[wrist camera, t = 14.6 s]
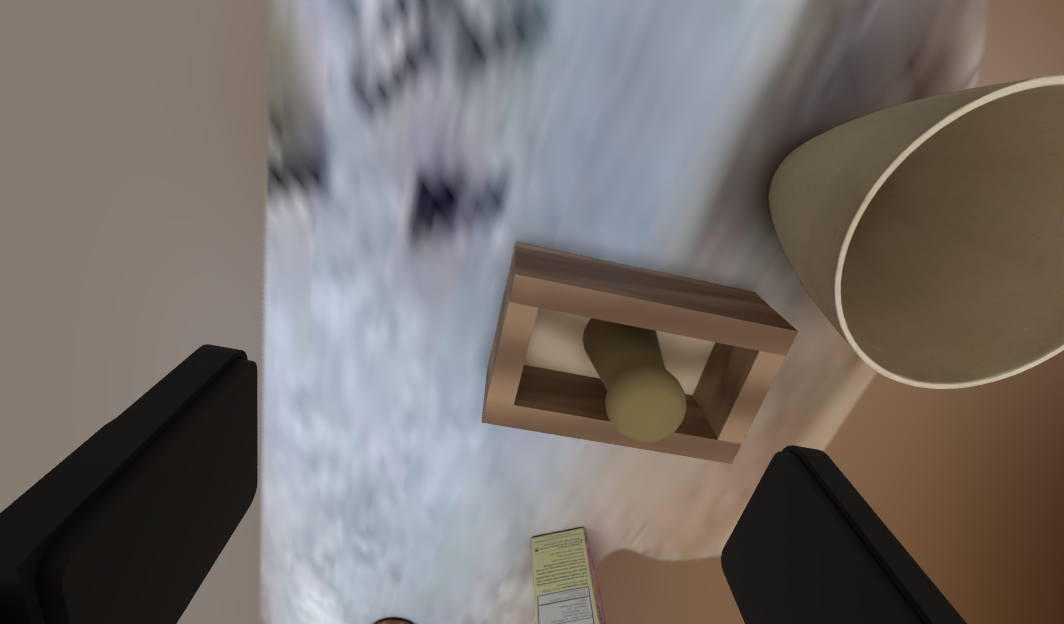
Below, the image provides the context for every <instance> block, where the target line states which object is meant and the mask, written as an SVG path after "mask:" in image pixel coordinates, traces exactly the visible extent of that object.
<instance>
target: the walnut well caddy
mask: <svg viewBox="0 0 1064 624" xmlns="http://www.w3.org/2000/svg"><path fill="white" fill-rule="evenodd" d="M591 318H594V319H599V320H604V321H609V322H614V323H620V324H625V325H630V326H635V327H640V328H645V329H650V330H655V331H656V333H657V337H658V341H659V345H660V349H661V353H662V356H663V360H664V364H665V368H666V370H667V371H669V372H670V373H671V374H672V375H673V376H674V377H675V378H676V379H678V381H679V383H680V384H681V386H682V388H683V390H684V392H685V396H686V412H685V416H684V419H683V421H682V423H681V424H680V426H679V427H678V428H677V430H676V431H675V432H673V433H672V434H671V435H669V436H668V437H666V438H664V439H661V440H659V441H655V442H649V443H645V442H637V441H634V440H631V439H629V438H626V437H624V436H623V435H622V434H620V433H619V432H618V431H617V430H616V429H615V428H614V427H613V425H612V423H611V422H610V420H609V418H608V415H607V411H606V404H605V400H606V394H607V390H606V388H605V386H604V384H603V382H602V380H601V379H600V377H599V375H598V373H597V371H596V369H595V368H594V366H593V364H592V362H591V360H590V359H589V357H588V355H587V353H586V351H585V349H584V345H583V334H584V329H585V327H586V325H587V324H588V322H589V320H590V319H591ZM797 333H798V331H797V330H796V329H795V328H794V327H793V326H791V325H790V324H789V323H788V322H787V321H786V320H785V319H784V318H782V317H781V316H780V315H779V314H778V313H777V312H776V311H775V310H774V309H772V308H771V307H770V306H769V305H768V304H767V303H766V302H765V301H764V300H762V299H761V298H760V297H759V296H758V295H757V294H756V293H755V292H750V291H745V290H741V289H736V288H731V287H726V286H722V285H717V284H712V283H707V282H703V281H698V280H693V279H688V278H684V277H679V276H674V275H669V274H665V273H660V272H655V271H650V270H646V269H641V268H636V267H631V266H627V265H622V264H617V263H612V262H608V261H603V260H598V259H593V258H589V257H584V256H579V255H574V254H570V253H565V252H560V251H555V250H551V249H546V248H541V247H536V246H532V245H527V244H522V243H517V242H515V247H514V251H513V256H512V260H511V265H510V269H509V274H508V279H507V283H506V288H505V292H504V297H503V301H502V306H501V310H500V315H499V319H498V324H497V328H496V333H495V337H494V342H493V346H492V351H491V356H490V360H489V365H488V369H487V375H486V385H485V395H484V405H483V415H482V423H488V424H494V425H500V426H506V427H512V428H518V429H524V430H530V431H536V432H542V433H548V434H555V435H561V436H567V437H573V438H579V439H585V440H591V441H597V442H603V443H609V444H615V445H621V446H627V447H633V448H639V449H645V450H651V451H657V452H663V453H669V454H675V455H681V456H687V457H693V458H699V459H705V460H712V461H718V462H724V463H730V464H732V462H733V460H734V458H735V456H736V454H737V452H738V450H739V448H740V446H741V444H742V442H743V440H744V438H745V436H746V434H747V432H748V430H749V428H750V426H751V424H752V422H753V420H754V418H755V416H756V414H757V412H758V410H759V408H760V406H761V404H762V402H763V400H764V398H765V396H766V394H767V392H768V390H769V388H770V386H771V384H772V382H773V380H774V378H775V376H776V374H777V372H778V370H779V368H780V366H781V364H782V362H783V360H784V358H785V357H786V355H787V353H788V351H789V349H790V347H791V345H792V343H793V341H794V339H795V337H796V335H797Z"/></svg>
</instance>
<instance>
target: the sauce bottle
mask: <svg viewBox="0 0 1064 624" xmlns="http://www.w3.org/2000/svg"><path fill="white" fill-rule="evenodd" d="M376 624H410V623H408V622H406V621H401V620H385V621H380V622H378V623H376Z"/></svg>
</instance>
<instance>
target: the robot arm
mask: <svg viewBox="0 0 1064 624" xmlns="http://www.w3.org/2000/svg"><path fill="white" fill-rule="evenodd" d="M256 488H257V365H256V363H255V362H254V361H249V360H248V359H247V355H246V353H245V352H244V351H243V350H238V349H232V348H225V347H220V346H215V345H209V344H208V345H203V346H201V347H200V348H199V349H197V350H196V351H195V352H194V353H192V354H191V355H190V356H189V357H188V358H187V359H185V360H184V361H183V362H182V363H181V364H180V365H178V366H177V367H176V368H175V369H174V370H172V371H171V372H170V373H169V374H168V375H166V376H165V377H164V378H163V379H162V380H161V381H159V382H158V383H157V384H156V385H155V386H153V387H152V388H151V389H150V390H149V391H148V392H146V393H145V394H144V395H143V396H142V397H140V398H139V399H138V400H137V401H136V402H135V403H134V404H132V405H131V406H130V407H129V408H128V409H126V410H125V411H124V412H123V413H122V414H120V415H119V416H118V417H117V418H115V419H114V420H112V421H111V422H109V423H108V424H106V425H105V426H103V427H102V428H101V429H100V430H99V431H98V432H96V433H95V434H94V435H93V436H92V437H90V438H89V439H88V440H87V441H86V442H85V443H83V444H82V445H81V446H80V447H78V448H77V449H76V450H75V451H74V452H72V453H71V454H70V455H69V456H68V457H67V458H65V459H64V460H63V461H62V462H61V463H59V464H58V465H57V466H56V467H55V468H53V469H52V470H51V471H50V472H49V473H48V474H46V475H45V476H44V477H43V478H42V479H41V480H39V481H38V482H37V483H36V484H34V486H32V487H31V488H30V489H29V490H28V491H26V492H25V493H24V494H23V495H21V496H20V497H19V498H18V499H17V500H15V501H14V502H13V503H12V504H11V505H10V506H8V507H7V508H6V509H5V510H4V511H2V512H1V513H0V624H177V622H178V620H179V618H180V617H181V616H182V614H183V612H184V611H185V609H186V608H187V606H188V604H189V603H190V601H191V600H192V598H193V596H194V595H195V593H196V592H197V590H198V588H199V587H200V585H201V584H202V582H203V580H204V579H205V577H206V576H207V574H208V572H209V571H210V569H211V567H212V566H213V564H214V563H215V561H216V559H217V558H218V556H219V555H220V553H221V551H222V550H223V548H224V547H225V545H226V543H227V542H228V540H229V539H230V537H231V535H232V534H233V532H234V531H235V529H236V527H237V526H238V524H239V523H240V521H241V519H242V518H243V516H244V515H245V513H246V511H247V510H248V508H249V506H250V505H251V503H252V501H253V498H254V495H255V493H256ZM721 564H722V568H723V572H724V574H725V577H726V579H727V582H728V584H729V586H730V589H731V591H732V594H733V596H734V598H735V601H736V603H737V605H738V608H739V610H740V613H741V615H742V617H743V620H744V622H745V624H967V623H966V622H965V621H964V620H963V619H962V617H961V616H960V615H959V614H958V612H957V611H956V610H955V609H954V608H953V606H952V605H951V604H950V603H949V601H948V600H947V599H946V598H945V597H944V595H943V594H942V593H941V592H940V591H939V589H938V588H937V587H936V586H935V585H934V583H933V582H932V581H931V580H930V579H929V577H928V576H927V575H926V574H925V572H924V571H923V570H922V569H921V568H920V566H919V565H918V564H917V563H916V562H915V561H914V559H913V558H912V557H911V556H910V554H909V553H908V552H907V551H906V549H905V548H904V547H903V546H902V545H901V543H900V542H899V541H898V540H897V539H896V537H895V536H894V535H893V534H892V533H891V531H890V530H889V529H888V528H887V527H886V525H885V524H884V523H883V522H882V520H881V519H880V518H879V517H878V516H877V514H876V513H875V512H874V511H873V510H872V508H871V507H870V506H869V505H868V504H867V502H866V501H865V500H864V499H863V498H862V497H861V495H860V494H859V493H858V491H857V490H856V489H855V488H854V487H853V486H852V484H851V483H850V482H849V481H848V479H847V478H846V477H845V476H844V475H843V473H842V472H841V471H840V470H839V468H838V467H837V466H836V465H835V464H834V463H833V461H832V460H831V459H830V458H829V456H828V455H827V454H825V453H824V452H823V451H820V450H817V449H811V448H805V447H799V446H793V445H792V446H787V447H786V448H784V449H783V450H782V451H781V452H778V453H776V454H775V455H774V456H773V458H772V460H771V462H770V464H769V465H768V467H767V469H766V471H765V473H764V475H763V476H762V478H761V480H760V482H759V484H758V486H757V487H756V489H755V491H754V493H753V495H752V497H751V499H750V500H749V502H748V504H747V506H746V508H745V510H744V511H743V513H742V515H741V517H740V519H739V521H738V523H737V524H736V526H735V528H734V530H733V532H732V534H731V535H730V537H729V539H728V541H727V543H726V545H725V546H724V548H723V551H722V555H721Z"/></svg>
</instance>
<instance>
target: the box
mask: <svg viewBox="0 0 1064 624" xmlns="http://www.w3.org/2000/svg"><path fill="white" fill-rule="evenodd" d="M532 557H533V582H534V606H535V624H606V622H605V615H604V610H603V605H602V599H601V593H600V588H599V584H598V581H597V577H596V573H595V570H594V566H593V562H592V558H591V554H590V550H589V546H588V542H587V538H586V535H585V531H584V528H578V529H573V530H568V531H562V532H557V533H552V534H547V535H543V536H538V537H533V538H532Z"/></svg>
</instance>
